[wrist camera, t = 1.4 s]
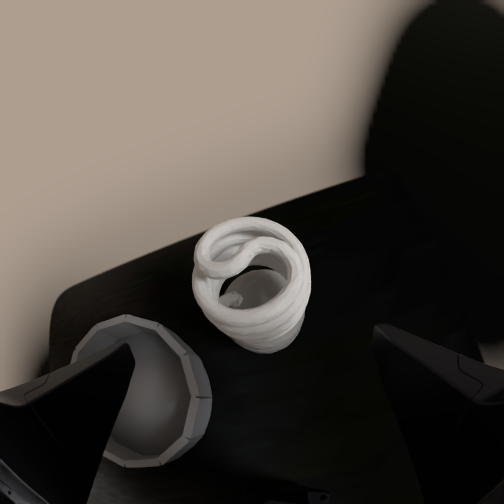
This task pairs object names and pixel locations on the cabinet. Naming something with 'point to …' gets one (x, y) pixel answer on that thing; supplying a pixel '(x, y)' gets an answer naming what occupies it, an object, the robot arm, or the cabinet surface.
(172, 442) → the bowl
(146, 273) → the cabinet surface
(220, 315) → the light bulb
